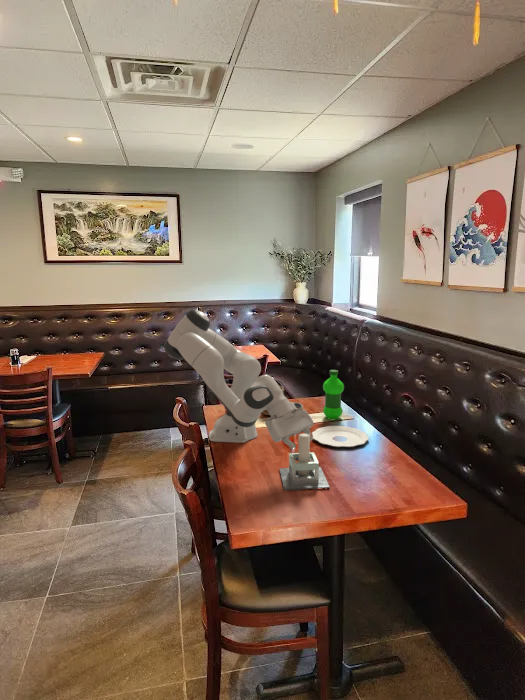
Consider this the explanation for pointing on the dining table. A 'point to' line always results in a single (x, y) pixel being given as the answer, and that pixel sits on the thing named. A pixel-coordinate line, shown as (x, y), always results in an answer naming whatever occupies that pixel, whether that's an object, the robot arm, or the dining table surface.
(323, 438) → the plate
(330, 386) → the plastic bottle
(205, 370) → the robot arm
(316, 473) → the collar holder
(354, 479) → the dining table surface
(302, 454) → the cream tall rounded cylinder
